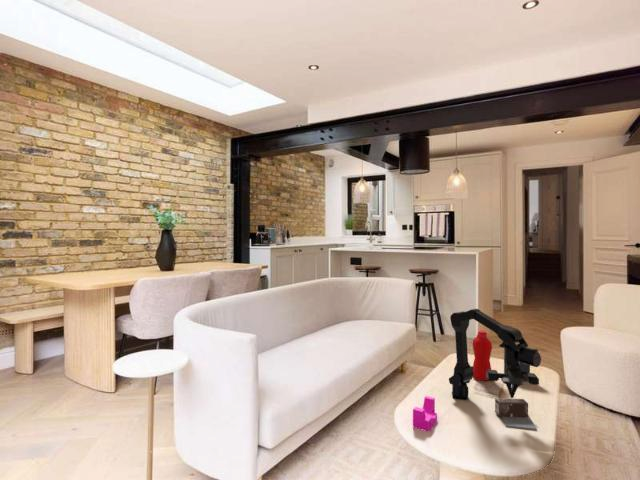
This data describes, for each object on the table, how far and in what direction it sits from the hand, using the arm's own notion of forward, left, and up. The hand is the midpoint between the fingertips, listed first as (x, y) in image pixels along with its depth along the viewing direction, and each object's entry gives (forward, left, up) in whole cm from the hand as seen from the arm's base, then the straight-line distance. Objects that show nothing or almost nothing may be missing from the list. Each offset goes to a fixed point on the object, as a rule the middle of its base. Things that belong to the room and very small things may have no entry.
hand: (511, 397), depth 154 cm
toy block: (-34, -11, -10) cm, 37 cm away
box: (-6, +1, -6) cm, 8 cm away
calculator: (+13, +48, -9) cm, 51 cm away
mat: (+2, +1, -9) cm, 9 cm away
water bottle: (-6, +44, -9) cm, 45 cm away
